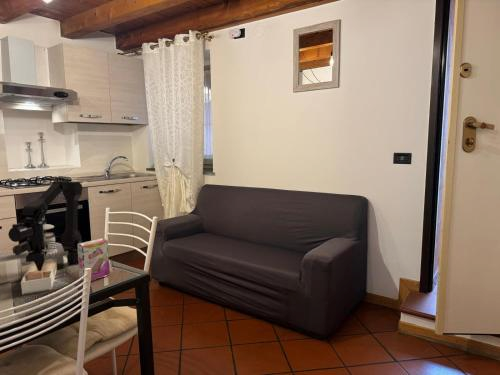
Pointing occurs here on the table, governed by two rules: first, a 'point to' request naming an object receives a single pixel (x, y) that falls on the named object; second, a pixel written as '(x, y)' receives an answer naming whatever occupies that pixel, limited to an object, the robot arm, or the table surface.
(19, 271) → the table surface
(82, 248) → the candy bar box
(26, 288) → the box
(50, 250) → the french press
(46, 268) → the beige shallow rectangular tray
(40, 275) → the terracotta block
